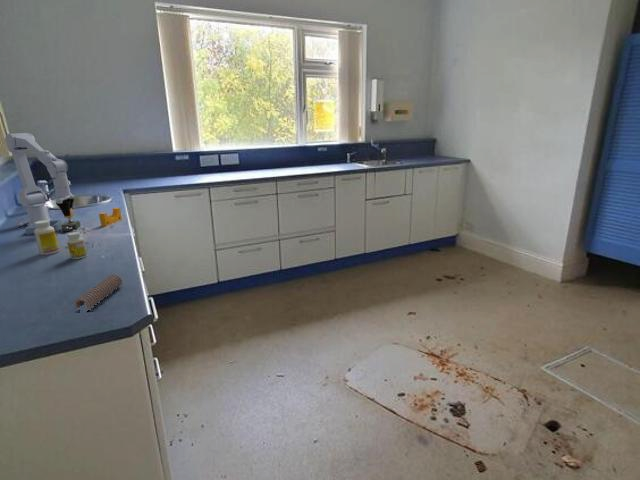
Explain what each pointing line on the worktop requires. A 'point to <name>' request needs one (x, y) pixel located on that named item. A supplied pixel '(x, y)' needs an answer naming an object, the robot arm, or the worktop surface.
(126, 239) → the worktop surface
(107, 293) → the coil
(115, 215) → the pipe clamp
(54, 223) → the tray
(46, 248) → the supplement bottle
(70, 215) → the orange rectangular block
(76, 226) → the block
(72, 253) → the supplement bottle
